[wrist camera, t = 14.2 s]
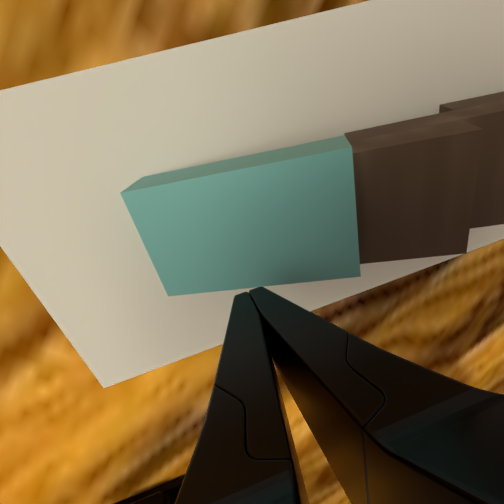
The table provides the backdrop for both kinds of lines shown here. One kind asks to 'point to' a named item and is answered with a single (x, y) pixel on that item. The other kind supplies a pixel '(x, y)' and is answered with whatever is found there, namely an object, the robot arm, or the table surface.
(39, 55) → the table surface
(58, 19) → the table surface
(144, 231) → the domino
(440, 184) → the domino
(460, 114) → the domino
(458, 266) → the table surface
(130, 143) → the mat
